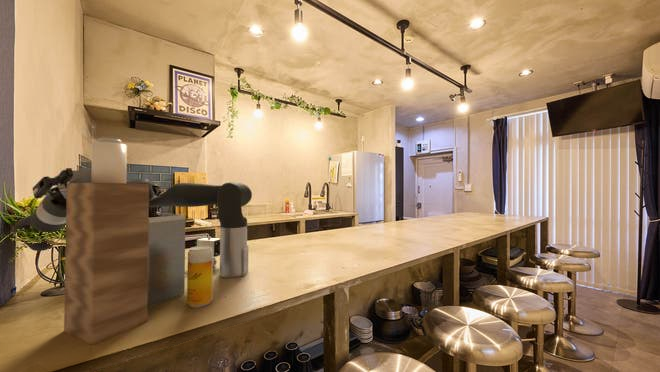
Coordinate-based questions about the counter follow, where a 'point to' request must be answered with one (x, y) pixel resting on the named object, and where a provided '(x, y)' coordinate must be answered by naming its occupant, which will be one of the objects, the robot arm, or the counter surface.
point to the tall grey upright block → (166, 258)
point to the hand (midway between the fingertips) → (90, 172)
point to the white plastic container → (105, 163)
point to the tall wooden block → (106, 259)
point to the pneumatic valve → (210, 242)
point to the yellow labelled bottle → (200, 276)
